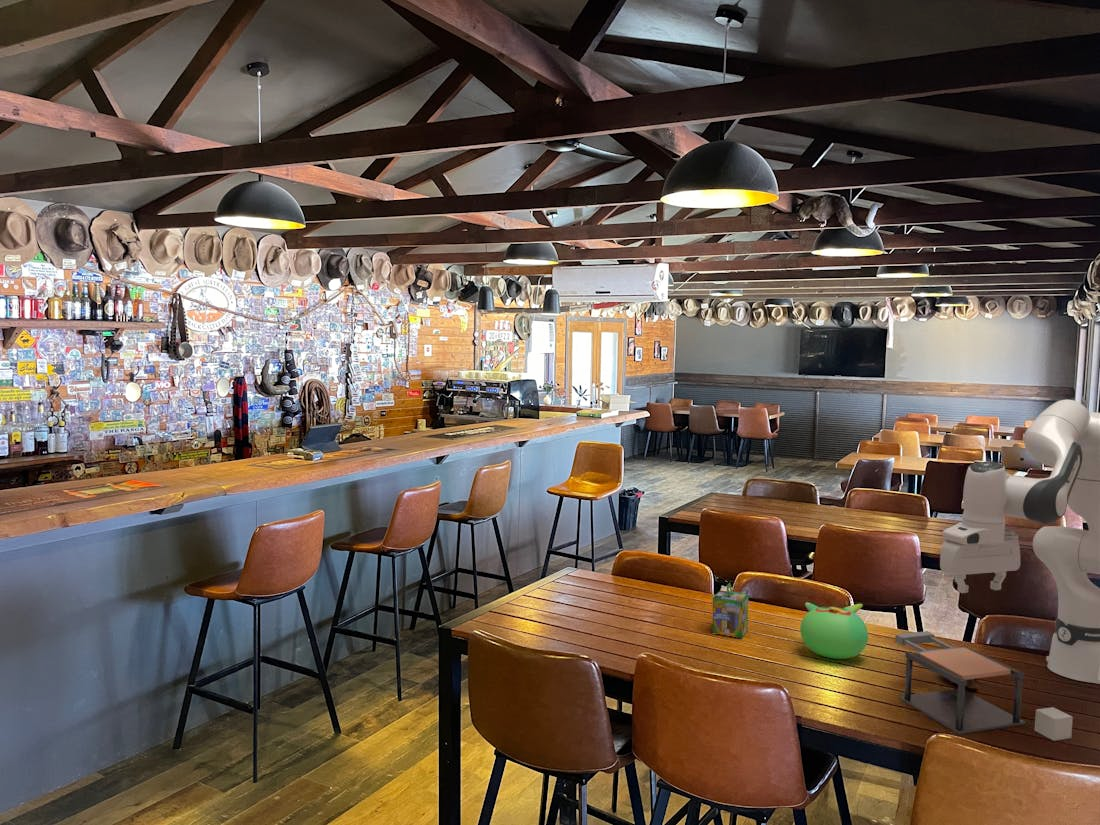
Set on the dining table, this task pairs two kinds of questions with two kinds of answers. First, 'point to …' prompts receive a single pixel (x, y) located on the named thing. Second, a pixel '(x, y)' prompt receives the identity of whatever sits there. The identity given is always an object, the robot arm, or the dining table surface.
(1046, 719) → the grey cube
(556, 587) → the dining table surface
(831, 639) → the green rounded blob
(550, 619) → the dining table surface
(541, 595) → the dining table surface
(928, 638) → the trapdoor
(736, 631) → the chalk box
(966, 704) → the stand
